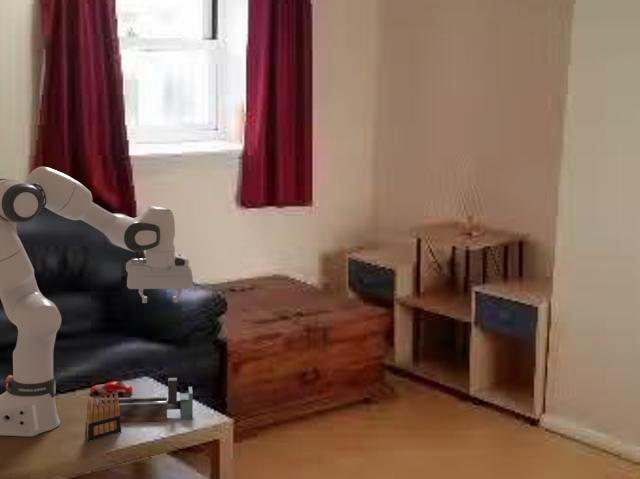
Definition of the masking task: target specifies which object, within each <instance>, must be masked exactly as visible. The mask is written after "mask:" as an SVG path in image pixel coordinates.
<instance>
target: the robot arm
mask: <svg viewBox="0 0 640 479" xmlns="http://www.w3.org/2000/svg"><path fill="white" fill-rule="evenodd" d="M43 208H46V209H48V210H49V211H51V212H52V213H54V214H56V215H58V216H61V217H63V218H65V219H69V220H72V221H83V222H84V223H86V224H87V225H88V226H89V225H90V226H91V227H93V228H94V229H96V230H98V231H99V232H100V233H101V234H102V236H103V237H104V239H105V240H106V241H107V243H109V244H110V245H112V246H114V247H118V248H122V249H124V250H126V251H130V252H134V253H138V252H144V251H145V258H131V259H130V260H129V259H128V261H126V263H125V271H126V273H127V278H126V287H127V288H128V289H129V290H138V294H139V295H140V297H141V300H142V301H141V303H142V304H147V303H148V296H146V295H144V290H170V289H171V290H175V289H176V294H175V295H173V296H172V303H175V304H176V303H177V304H178V302H179V297H180V295H181V294H182V290H188V289H189V290H190V289H192V287H193V286H194V280H193V278H194V277H193V272H192V268H191V266H190V258H189V257H188V256H187V255H185V254H182V253H178V252H176V251H175V250H176V248H175V243H174V240H175V236H176V229H175V228H176V223H175V215H174V213H173V211H172V210H170V209H168V208H166V207H162V206H155V205H154V206H153V205H152V206H148V208H147V209H146V210H145V211H143V213H141V214H139V215H138V216H136V217H130V216H128V215H127V214H123V213H112V212H110V211H108V210H106V209H104V208H103V207H101V206H100V205H98V204H96V203H95V202H93V195H92V192H91V191H90V189H88V188H87V187H86V186H84V184H82V183H81V182H79V181H78V180H76V179H74V178H72V177H71V176H69V175H67V174H65V173H63V172H61V171H58V170H56V169H53V168H51V167H47V166H38V167H36V168H34V169H33V170H32V171H31V172H30V173H29V174H28V176H27V178H26V179H25V180H24V181H20V180H19V181H18V180H15V179H8V178H0V301H1V304H2V307H3V310H4V312H5V315H6V317H7V318H8V321H10V322H11V323H12V324H13V325H15V326H16V327H17V340H16V345H15V347H14V349H13V352H12V370H13V371H12V373H13V374H12V375H11V374H9V375H8V376H6V379H5V382H6V383H5V392H3V393H2V394H0V436H7V437H9V436H11V437H12V436H13V437H34V436H37V435H39V434H41V433H45V432H48V431H51V430H54V429H55V428H57V427H58V426H59V425H60V424H61V421H60V418H59V415H58V410H57V405H56V398H55V396H56V390H57V389H56V388H57V387H56V376H55V375H54V348H55V343H56V338H57V332H58V331H59V329H60V328H61V325H62V315H61V312H60V310H59V309H58V307H57V305H56V304H55V303H54V302H53V301H51V300H50V299H48V298H46V297H45V296H44V295H43V294H42V292H41V291H40V289H39V287H38V283H37V280H36V277H35V269H34V267H33V264H32V262H31V260H30V257H29V256H28V254H27V252H26V249H25V247H24V245H23V243H22V241H21V239H20V237H19V236H18V231H17V226H18V225H17V224H23V223H24V224H25V223H28V222H31V221H33V220H34V219H35V218H36V217H38V215H39V214H40V212H41V211H42V210H43Z"/></svg>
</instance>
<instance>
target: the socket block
mask: <svg viewBox="0 0 640 479" xmlns="http://www.w3.org/2000/svg"><path fill="white" fill-rule="evenodd" d="M193 396H194V393H193V386H188V392H183V393H182V392H180V394H179V401H181V409H179V414H180V416H179V418H180V420H192V419H193V409H194V408H193V404H194V402H193V400H194V399H193Z"/></svg>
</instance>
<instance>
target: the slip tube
mask: <svg viewBox="0 0 640 479" xmlns="http://www.w3.org/2000/svg"><path fill="white" fill-rule="evenodd" d="M167 385H168V386H167V391H168V392H167V401H143V402H133V403H158V402H167V411H169V410H172V411H173V410H180V409H181V401H180V400H178V399H177V397H178V390H177V388H178V377H168V378H167Z"/></svg>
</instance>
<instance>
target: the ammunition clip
mask: <svg viewBox="0 0 640 479" xmlns="http://www.w3.org/2000/svg"><path fill="white" fill-rule="evenodd" d="M103 397H104V398H102V396H100V395H99V397H98V399H99V400H98V411H97V401H96V399H97V398H96V397H93V400H92V401H91V398H88V401H87V405H86V422H85V431H84V435H85V436H84V439H85V440H86V441H88V442H90V441H89V440H92V441H95V440H99V439H102V438H105V436H106V437H109V435H110V436H113V435H116V434H120V433H122V427H121V426H122V423H121V417H120V408H119V398H120V397H118V393H117V392H116V394H115V396H112V394H110V396H106V395H105V396H103ZM108 397H109V407H108V400H107V398H108ZM113 398H115V399H114V405H113ZM102 399H104V404H103V406H102ZM92 409H93V410H92ZM119 432H120V433H119ZM112 434H113V435H112ZM98 438H99V439H98ZM94 439H95V440H94Z"/></svg>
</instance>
